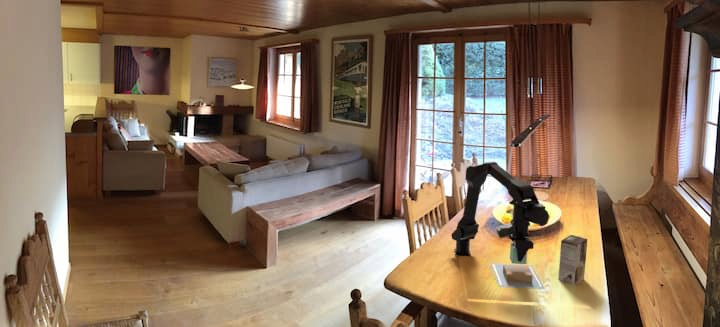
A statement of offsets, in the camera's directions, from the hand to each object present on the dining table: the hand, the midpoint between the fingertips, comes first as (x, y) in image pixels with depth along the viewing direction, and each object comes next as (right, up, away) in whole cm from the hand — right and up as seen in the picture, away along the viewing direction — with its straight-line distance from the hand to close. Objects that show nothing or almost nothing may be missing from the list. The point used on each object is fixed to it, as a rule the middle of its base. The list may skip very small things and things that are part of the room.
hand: (518, 258), depth 184 cm
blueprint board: (0, -8, +3) cm, 8 cm away
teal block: (0, -1, 0) cm, 1 cm away
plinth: (0, -7, +1) cm, 7 cm away
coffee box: (+20, -9, +1) cm, 22 cm away
